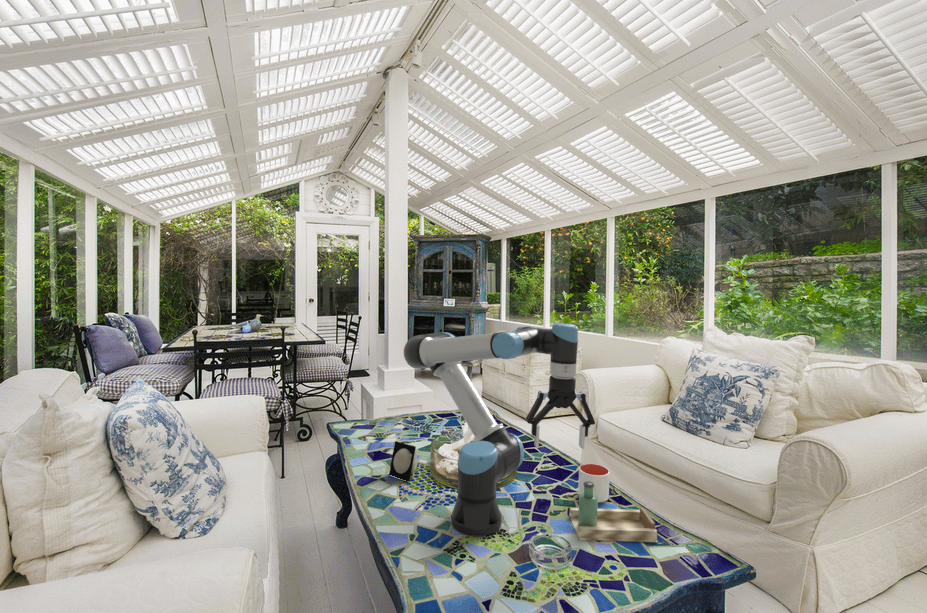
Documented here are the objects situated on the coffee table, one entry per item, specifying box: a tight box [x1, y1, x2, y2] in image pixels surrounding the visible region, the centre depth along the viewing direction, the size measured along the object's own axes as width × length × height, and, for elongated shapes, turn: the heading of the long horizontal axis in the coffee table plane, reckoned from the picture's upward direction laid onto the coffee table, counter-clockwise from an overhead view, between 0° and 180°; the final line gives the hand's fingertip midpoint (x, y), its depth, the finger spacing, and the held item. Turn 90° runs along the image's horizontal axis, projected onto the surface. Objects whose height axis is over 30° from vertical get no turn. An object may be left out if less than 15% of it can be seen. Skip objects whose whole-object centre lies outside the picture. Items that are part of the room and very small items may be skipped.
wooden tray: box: [568, 507, 659, 543], centre depth 133 cm, size 22×14×5 cm, turn 89°
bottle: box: [578, 481, 599, 527], centre depth 133 cm, size 5×5×13 cm
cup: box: [577, 463, 611, 503], centre depth 153 cm, size 10×10×10 cm
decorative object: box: [388, 440, 418, 483], centre depth 168 cm, size 13×10×10 cm
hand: (558, 446), depth 133 cm, fingers open, 13 cm apart
